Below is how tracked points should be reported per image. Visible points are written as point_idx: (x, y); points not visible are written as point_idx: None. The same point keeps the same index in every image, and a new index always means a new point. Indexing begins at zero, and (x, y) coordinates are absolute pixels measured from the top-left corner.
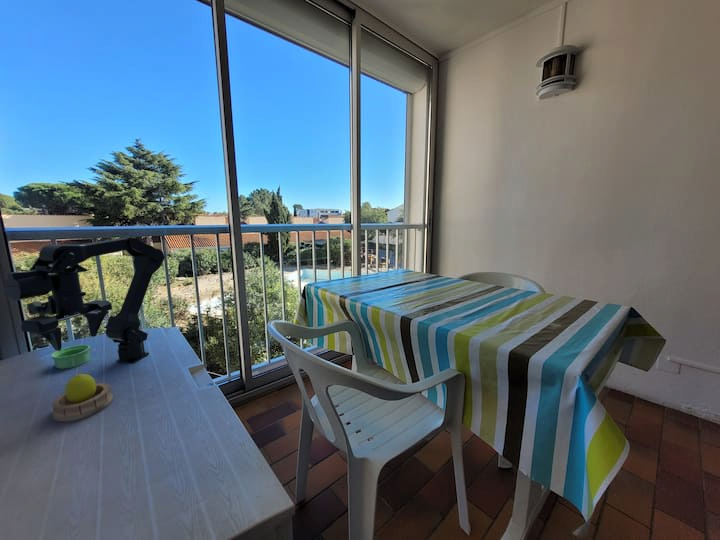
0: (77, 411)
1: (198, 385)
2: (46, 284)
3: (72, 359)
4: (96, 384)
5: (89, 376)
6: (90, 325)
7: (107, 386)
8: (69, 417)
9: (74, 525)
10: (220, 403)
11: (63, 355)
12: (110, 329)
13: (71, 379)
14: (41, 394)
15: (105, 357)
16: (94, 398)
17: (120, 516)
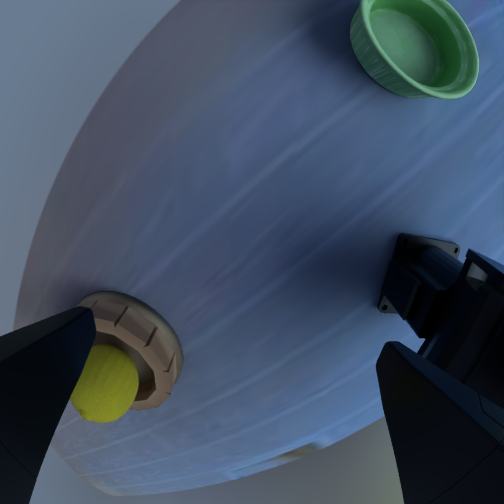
0: None
1: (237, 470)
2: None
3: (381, 67)
4: (158, 372)
5: (110, 421)
6: (439, 425)
7: (157, 401)
8: None
9: None
10: (193, 487)
11: (413, 4)
12: (486, 344)
13: (72, 401)
14: (154, 144)
15: (440, 151)
16: None
17: (55, 444)
